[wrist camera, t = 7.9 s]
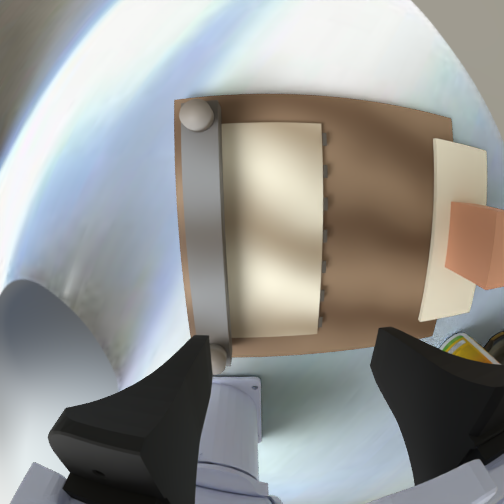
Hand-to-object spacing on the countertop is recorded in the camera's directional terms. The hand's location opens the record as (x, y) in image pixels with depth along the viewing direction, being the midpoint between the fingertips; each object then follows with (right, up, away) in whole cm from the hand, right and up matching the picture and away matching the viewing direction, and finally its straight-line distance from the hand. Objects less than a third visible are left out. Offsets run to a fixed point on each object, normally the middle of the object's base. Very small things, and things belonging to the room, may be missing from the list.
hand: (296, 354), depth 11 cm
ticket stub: (+14, +6, +7) cm, 17 cm away
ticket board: (+4, +6, +8) cm, 11 cm away
